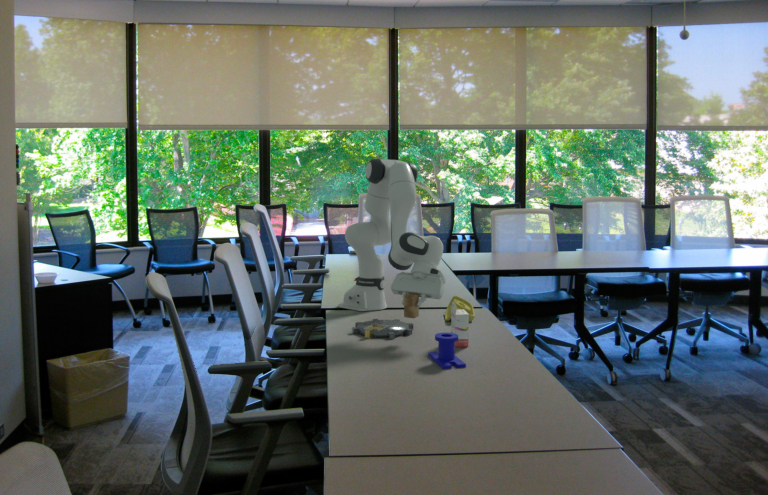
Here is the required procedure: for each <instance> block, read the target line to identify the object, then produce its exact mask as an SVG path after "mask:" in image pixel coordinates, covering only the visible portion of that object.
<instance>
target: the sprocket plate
mask: <svg viewBox="0 0 768 495" xmlns="http://www.w3.org/2000/svg"><path fill="white" fill-rule="evenodd" d="M354 325H355V327H351V330H352V331H351V332H352V334H353V335H357V334H358V335H361V336H364V338H365V339H372V338H376V339H377V338H378V339H382V338H383V339H386V338H387V339H389V340H392V339H394V340H395V338H397V337H402V336H405V335H406V336H411V335H413V330H414V323H412V322H411V323H410V322H409V323H407V322H405V321H400V319H398V318H395V319H378V318H372V319H371V320H367V321H363V322H362V321H356V322H355V324H354Z"/></svg>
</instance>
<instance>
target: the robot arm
mask: <svg viewBox="0 0 768 495" xmlns="http://www.w3.org/2000/svg"><path fill="white" fill-rule="evenodd" d="M365 176H366V179H367V181H368V182H369V185H368V187H367V193H366V196H365V201H364V209H365V211H366V212H367V214H368V215H370V220H369V221H365V222H363V221H362V222H356V223H353V224H350V225H348V226H347V227H346V228H345V229H346V230H345V232H344V239H345V241H346V243H347V244H348V246H350V247H351V248H352V249H353V251H354V252H355V255H356V257H357V262H358V276H357V277H356V278H354V279H353V282H355V284H354V285H353V286H352V287H350V288H349V289H348V290H347V291H346V292H345V293H344V294H343V300H342V302H340V303H339V304H338V308H342V309H347V310H352V311H359V312H367V311H381V310H385V309H387V308H388V304H387V301H386V297H385V296H386V295H385V276H384V260H383V257H381V255H378V254H377V252H376V250H375V246H376V247H377V246H384V245H387V244H390V250H389V251H388V252H389V253H388V255H387V261H388V263H389V264H390V266H392V268H394V269H396V270H399V271H401V272H399V273H397V274H396V275H395V277H394V279H393V281H392V283H391V285H390V287H389V288H390V290H391V292H392V294H394V295H397V296H399V295H400V296H402V301H401V305H403V306H404V295H407V294H418V295H419V300H416V303H415V305H416V307H419V308H421V306H422V304H423V303H424V302H426V301H427V299H432V300H441V299H442V298H443V296H444V293H445V286H446V285H445V284H446V282H447V281H446V278H445V276H444V274H443V272H442V271H441V270H440V269H437V268H438V266H439V265H440V263H441V260H442V258H443V253H444V243H443V242H442V240H441V239H440V237H437V236H436V235H419V234H417V233H415V232H410V231H408V229H407V227H408V221H409V218H410V217H411V216H410V215H411V213H412V211H413V209H414V207H415V205H416V201H417V186H416V182H417V179H418V168H417V166H416V165H415V164H414V163H412V162H409V161H402V160H398V159H387V158H386V159H385V158H381V159H380V158H371V159H370V160H369V161H368V162H367V164H366V167H365ZM411 267H412V268H411ZM410 268H411V270H410V272H405V271H407V270H408V269H410Z"/></svg>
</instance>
